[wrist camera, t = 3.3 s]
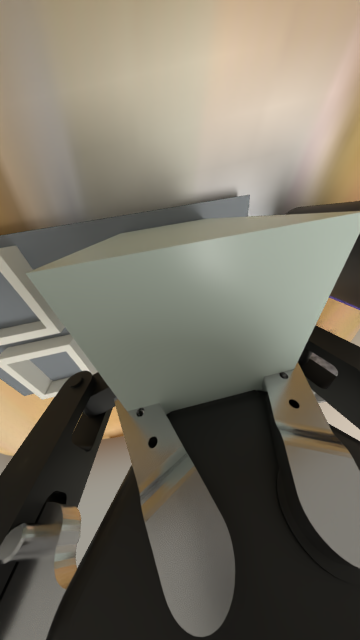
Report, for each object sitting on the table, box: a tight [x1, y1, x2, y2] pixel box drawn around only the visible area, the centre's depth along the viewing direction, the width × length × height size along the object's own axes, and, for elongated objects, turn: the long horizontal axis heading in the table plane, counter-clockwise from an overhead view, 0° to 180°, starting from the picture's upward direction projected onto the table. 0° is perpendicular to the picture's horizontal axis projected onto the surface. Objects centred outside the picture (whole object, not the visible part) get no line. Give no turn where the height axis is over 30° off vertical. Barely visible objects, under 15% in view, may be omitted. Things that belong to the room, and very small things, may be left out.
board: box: [0, 195, 250, 399], centre depth 11 cm, size 14×24×8 cm, turn 98°
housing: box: [26, 211, 360, 414], centre depth 9 cm, size 12×6×9 cm, turn 8°
